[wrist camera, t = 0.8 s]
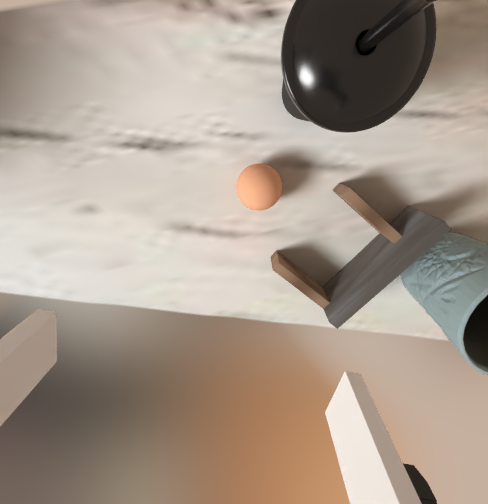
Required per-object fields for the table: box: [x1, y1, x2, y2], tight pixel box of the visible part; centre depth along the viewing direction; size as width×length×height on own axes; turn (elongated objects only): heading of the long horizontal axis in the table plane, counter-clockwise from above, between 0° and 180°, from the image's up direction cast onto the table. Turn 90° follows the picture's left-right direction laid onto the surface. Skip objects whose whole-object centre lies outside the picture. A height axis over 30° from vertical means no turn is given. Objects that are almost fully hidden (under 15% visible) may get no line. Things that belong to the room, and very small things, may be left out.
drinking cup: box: [281, 0, 436, 132], centre depth 18 cm, size 8×8×20 cm
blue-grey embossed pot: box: [401, 232, 488, 375], centre depth 28 cm, size 10×10×12 cm
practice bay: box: [271, 183, 451, 329], centre depth 29 cm, size 9×14×6 cm, turn 141°
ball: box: [237, 164, 282, 210], centre depth 28 cm, size 4×4×4 cm
